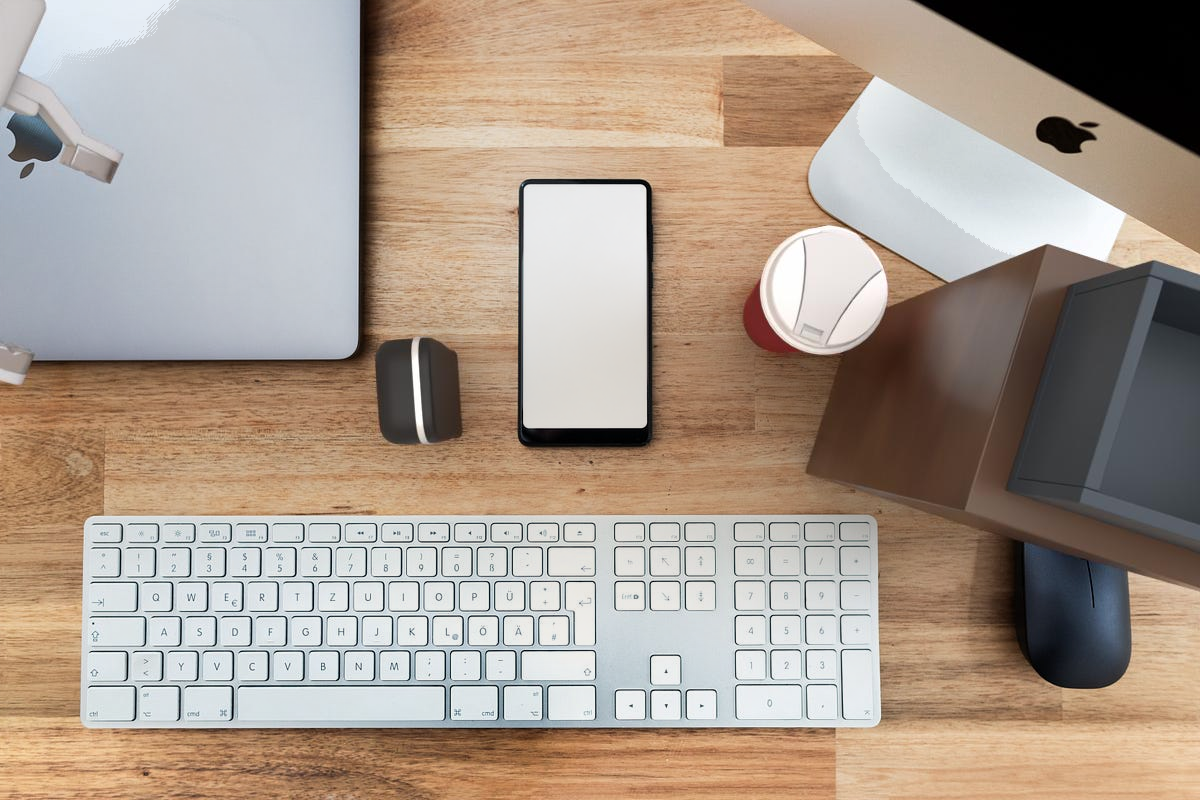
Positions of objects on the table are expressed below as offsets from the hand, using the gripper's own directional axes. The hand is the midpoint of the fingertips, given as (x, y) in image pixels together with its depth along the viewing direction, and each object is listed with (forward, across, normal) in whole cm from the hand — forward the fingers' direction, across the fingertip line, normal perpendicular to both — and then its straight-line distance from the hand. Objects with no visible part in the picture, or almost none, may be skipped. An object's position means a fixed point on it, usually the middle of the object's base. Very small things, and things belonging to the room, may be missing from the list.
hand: (70, 267), depth 38 cm
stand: (+51, +12, -15) cm, 55 cm away
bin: (+31, +11, -34) cm, 47 cm away
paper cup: (+42, +16, -6) cm, 46 cm away
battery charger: (+28, 0, +10) cm, 30 cm away
